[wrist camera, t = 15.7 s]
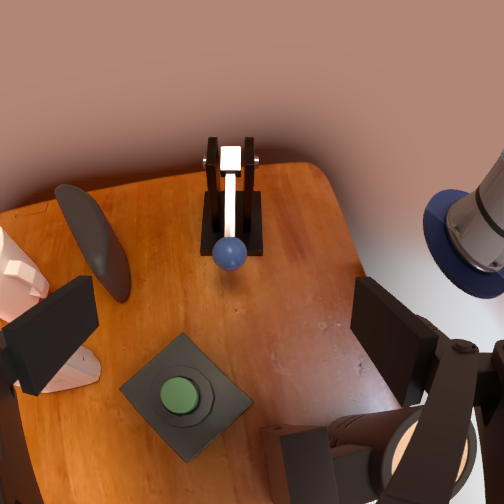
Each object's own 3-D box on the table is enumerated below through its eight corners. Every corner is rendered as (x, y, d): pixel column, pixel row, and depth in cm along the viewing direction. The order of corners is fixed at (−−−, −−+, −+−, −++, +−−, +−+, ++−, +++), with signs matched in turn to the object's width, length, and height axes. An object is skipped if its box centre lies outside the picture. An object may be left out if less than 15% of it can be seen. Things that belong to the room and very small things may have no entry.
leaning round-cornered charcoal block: (149, 287, 40) (127, 250, 32) (120, 307, 38) (92, 275, 30) (98, 209, 46) (77, 167, 37) (74, 226, 44) (49, 186, 36)
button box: (253, 402, 33) (254, 400, 30) (189, 461, 30) (183, 465, 26) (185, 336, 37) (180, 327, 33) (125, 390, 33) (112, 386, 30)
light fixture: (387, 474, 29) (482, 492, 13) (272, 503, 27) (301, 566, 12) (374, 401, 33) (465, 376, 18) (260, 426, 32) (278, 431, 16)
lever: (246, 271, 36) (247, 270, 32) (213, 271, 35) (210, 270, 32) (246, 156, 37) (247, 144, 33) (215, 156, 36) (213, 144, 33)
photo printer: (98, 349, 35) (48, 315, 25) (105, 382, 33) (54, 360, 23) (34, 365, 33) (-25, 337, 23) (39, 396, 31) (-22, 378, 21)
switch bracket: (262, 255, 43) (271, 185, 31) (201, 255, 42) (187, 185, 30) (260, 196, 48) (266, 122, 36) (205, 196, 47) (197, 122, 35)
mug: (67, 262, 41) (33, 219, 32) (52, 330, 36) (7, 299, 27) (4, 258, 41) (-32, 221, 31) (-13, 317, 36) (-56, 288, 26)
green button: (206, 397, 30) (204, 396, 29) (181, 420, 29) (177, 420, 27) (182, 372, 31) (179, 370, 30) (157, 394, 30) (153, 393, 28)
